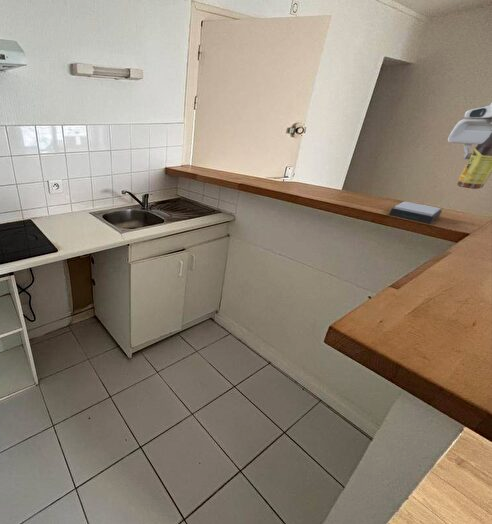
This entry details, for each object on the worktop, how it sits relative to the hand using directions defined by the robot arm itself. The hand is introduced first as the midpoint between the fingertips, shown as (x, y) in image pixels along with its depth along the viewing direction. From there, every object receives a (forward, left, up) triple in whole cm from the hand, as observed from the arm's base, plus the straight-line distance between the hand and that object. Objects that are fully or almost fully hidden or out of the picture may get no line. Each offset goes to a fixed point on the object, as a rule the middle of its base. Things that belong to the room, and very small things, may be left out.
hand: (482, 160), depth 89 cm
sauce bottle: (0, 0, -9) cm, 9 cm away
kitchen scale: (+8, +11, -18) cm, 23 cm away
